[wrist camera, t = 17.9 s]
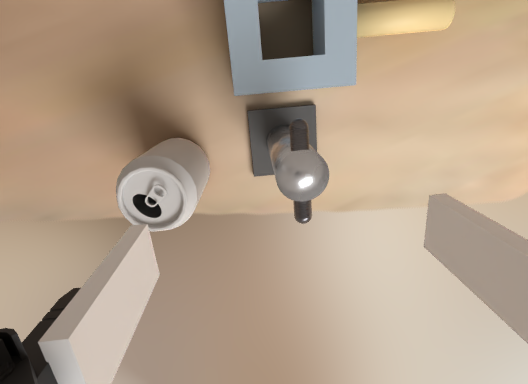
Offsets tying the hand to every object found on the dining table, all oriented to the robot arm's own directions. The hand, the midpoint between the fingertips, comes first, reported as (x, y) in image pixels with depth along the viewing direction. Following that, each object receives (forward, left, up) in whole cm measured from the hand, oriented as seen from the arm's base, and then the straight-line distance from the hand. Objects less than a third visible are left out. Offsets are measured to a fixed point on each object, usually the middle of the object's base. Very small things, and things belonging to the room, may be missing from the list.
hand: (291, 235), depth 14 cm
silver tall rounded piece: (+2, 0, -24) cm, 24 cm away
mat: (+2, 0, -25) cm, 25 cm away
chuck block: (+8, +12, -25) cm, 29 cm away
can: (-11, -2, -25) cm, 27 cm away
